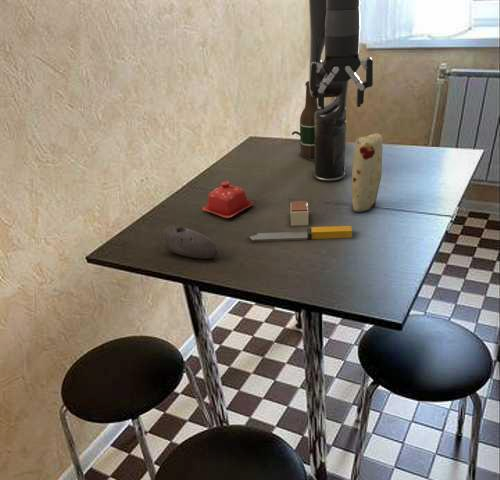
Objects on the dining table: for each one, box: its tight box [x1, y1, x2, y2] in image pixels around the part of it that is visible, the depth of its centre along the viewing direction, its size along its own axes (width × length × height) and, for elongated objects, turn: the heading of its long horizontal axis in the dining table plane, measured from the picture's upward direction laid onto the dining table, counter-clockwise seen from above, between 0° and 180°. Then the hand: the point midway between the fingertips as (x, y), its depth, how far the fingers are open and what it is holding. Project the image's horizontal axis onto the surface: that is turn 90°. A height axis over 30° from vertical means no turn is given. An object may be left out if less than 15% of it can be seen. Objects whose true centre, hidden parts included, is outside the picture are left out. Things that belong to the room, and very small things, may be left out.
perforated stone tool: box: [161, 224, 219, 260], centre depth 120 cm, size 15×5×7 cm, turn 60°
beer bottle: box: [299, 80, 320, 159], centre depth 163 cm, size 8×8×24 cm
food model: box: [351, 133, 383, 212], centre depth 129 cm, size 10×7×20 cm
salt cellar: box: [290, 200, 309, 227], centre depth 131 cm, size 5×6×4 cm
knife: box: [249, 225, 353, 243], centre depth 124 cm, size 26×3×2 cm, turn 86°
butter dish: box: [202, 180, 254, 219], centre depth 138 cm, size 12×12×8 cm
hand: (340, 107), depth 117 cm, fingers open, 8 cm apart
